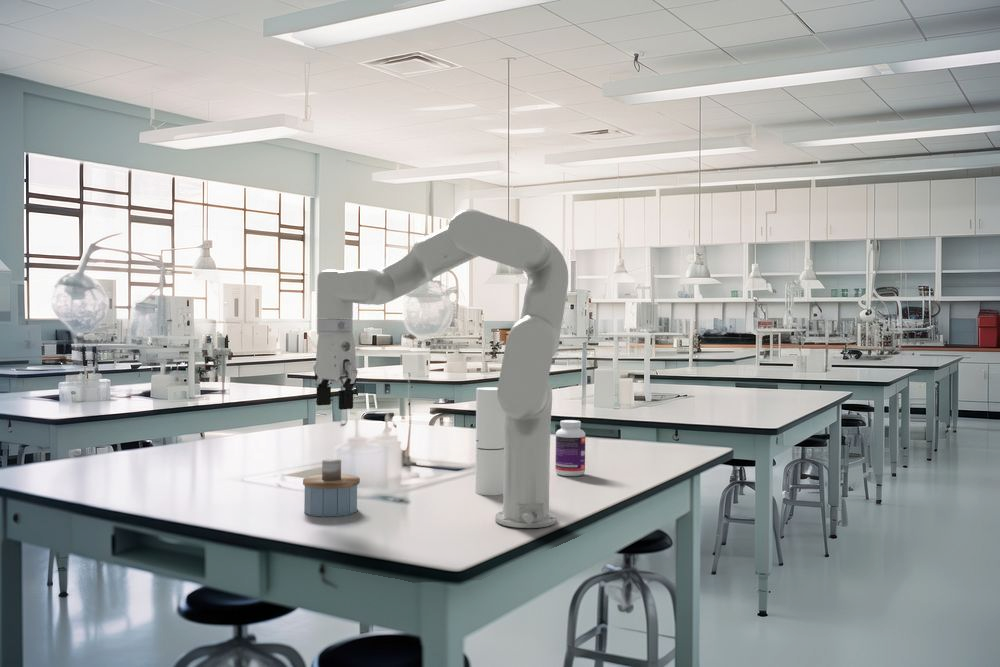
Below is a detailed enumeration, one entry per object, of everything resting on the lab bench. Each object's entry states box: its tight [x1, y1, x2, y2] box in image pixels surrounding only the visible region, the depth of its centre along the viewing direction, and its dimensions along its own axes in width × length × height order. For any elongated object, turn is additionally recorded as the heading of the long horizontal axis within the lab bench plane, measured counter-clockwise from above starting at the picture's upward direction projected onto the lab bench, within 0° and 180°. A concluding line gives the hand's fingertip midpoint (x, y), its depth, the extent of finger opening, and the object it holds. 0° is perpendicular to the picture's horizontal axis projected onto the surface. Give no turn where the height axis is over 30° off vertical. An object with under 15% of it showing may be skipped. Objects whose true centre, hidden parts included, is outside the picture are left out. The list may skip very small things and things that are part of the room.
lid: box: [302, 458, 361, 489], centre depth 177 cm, size 12×12×5 cm
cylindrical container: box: [474, 386, 505, 496], centre depth 198 cm, size 7×7×25 cm
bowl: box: [303, 485, 358, 518], centre depth 177 cm, size 11×11×6 cm
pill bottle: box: [554, 419, 586, 477], centre depth 222 cm, size 8×8×14 cm
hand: (334, 407), depth 177 cm, fingers open, 9 cm apart
